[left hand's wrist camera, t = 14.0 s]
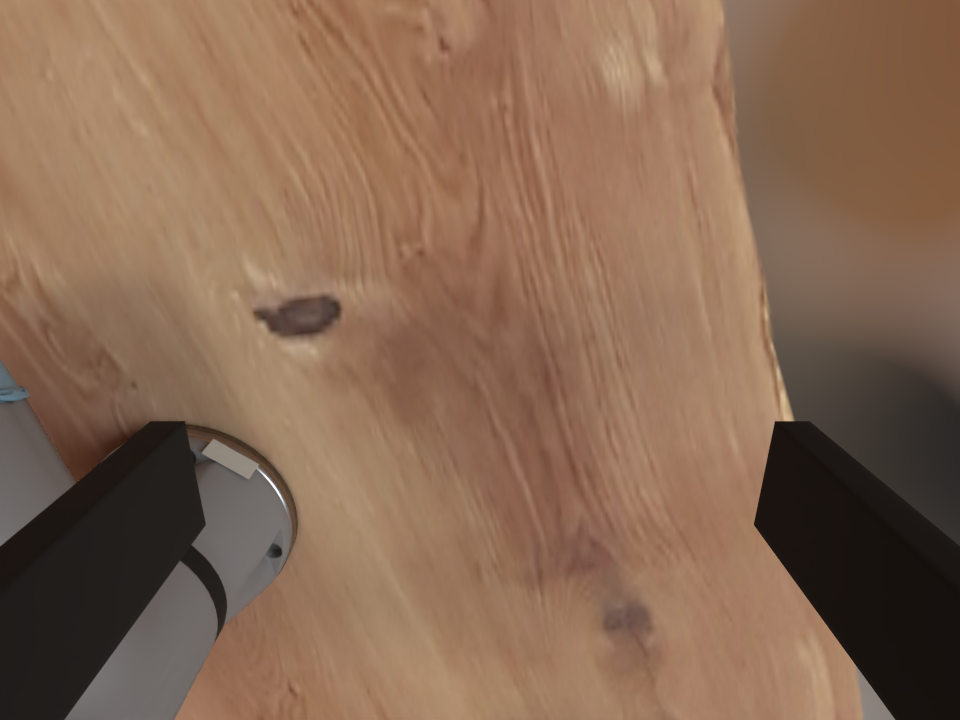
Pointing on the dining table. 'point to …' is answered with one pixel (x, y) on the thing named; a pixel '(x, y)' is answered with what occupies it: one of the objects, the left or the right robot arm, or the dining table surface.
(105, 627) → the left robot arm
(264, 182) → the dining table surface
